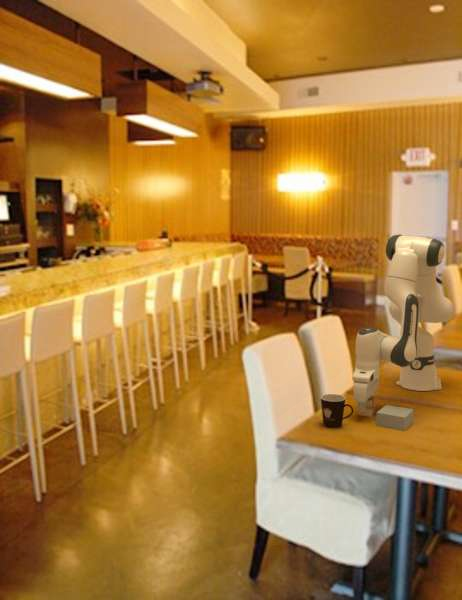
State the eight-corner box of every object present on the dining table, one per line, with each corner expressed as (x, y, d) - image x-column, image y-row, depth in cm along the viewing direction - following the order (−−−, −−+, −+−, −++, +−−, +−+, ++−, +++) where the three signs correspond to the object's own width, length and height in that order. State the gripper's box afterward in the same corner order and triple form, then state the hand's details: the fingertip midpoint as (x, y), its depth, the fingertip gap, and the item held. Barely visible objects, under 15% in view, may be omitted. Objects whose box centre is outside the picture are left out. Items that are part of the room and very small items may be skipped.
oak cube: (361, 411, 227) (362, 395, 226) (374, 412, 225) (375, 397, 224) (357, 414, 223) (358, 399, 222) (371, 416, 220) (371, 401, 219)
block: (385, 418, 220) (386, 404, 219) (413, 422, 214) (413, 409, 213) (376, 426, 211) (376, 412, 211) (404, 431, 206) (405, 417, 205)
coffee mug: (315, 423, 214) (315, 395, 213) (336, 419, 218) (336, 392, 216) (333, 433, 204) (334, 405, 202) (355, 429, 207) (355, 401, 206)
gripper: (366, 364, 232) (366, 399, 234) (350, 377, 214) (350, 414, 216) (383, 366, 229) (382, 401, 231) (368, 379, 211) (367, 417, 213)
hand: (366, 408), depth 223 cm, fingers open, 6 cm apart
